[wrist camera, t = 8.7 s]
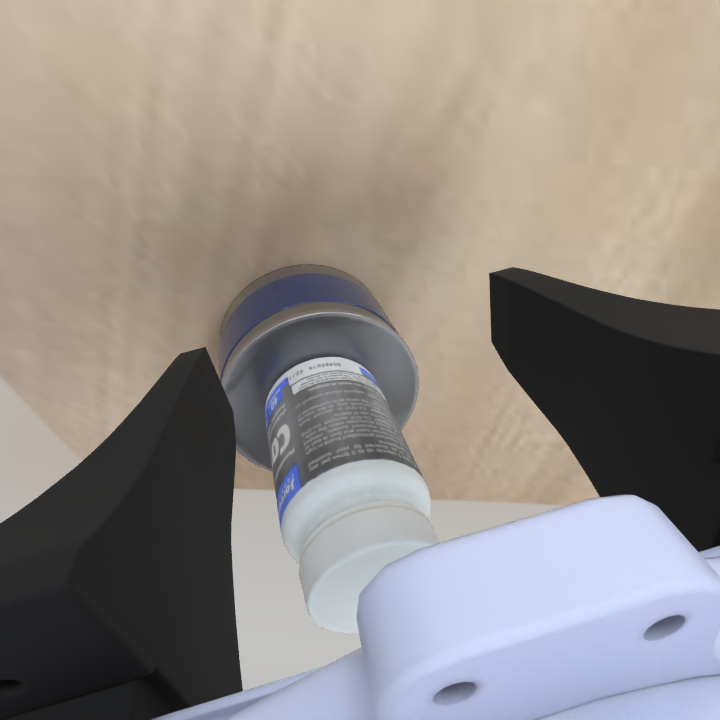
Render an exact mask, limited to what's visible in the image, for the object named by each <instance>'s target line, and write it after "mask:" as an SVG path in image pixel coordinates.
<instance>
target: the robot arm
mask: <svg viewBox="0 0 720 720" xmlns="http://www.w3.org/2000/svg"><path fill="white" fill-rule="evenodd" d="M489 278H490V309H491V340H492V343H493V345H494V347H495V349H496V350H497V352H498V354H499V356H500V358H501V359H502V361H503V362H504V364H505V366H506V367H507V369H508V371H509V372H510V373H511V374H512V376H513V377H514V378H515V380H516V381H517V382H518V383H519V385H520V386H521V387H522V388H523V389H524V391H525V392H526V393H527V394H528V396H529V397H530V398H531V399H532V400H533V402H534V403H535V404H536V405H537V407H538V408H539V409H540V410H541V411H542V413H543V414H544V415H545V416H546V418H547V419H548V420H549V421H550V422H551V424H552V425H553V426H554V427H555V428H556V430H557V431H558V432H559V434H560V435H561V436H562V438H563V439H564V440H565V442H566V443H567V445H568V446H569V448H570V449H571V451H572V452H573V454H574V455H575V457H576V459H577V460H578V462H579V463H580V465H581V466H582V468H583V469H584V471H585V473H586V474H587V476H588V477H589V479H590V481H591V482H592V484H593V486H594V487H595V489H596V491H597V492H598V494H599V496H600V497H599V498H591V499H587V500H584V501H581V502H577V503H574V504H570V505H567V506H564V507H560V508H557V509H553V510H550V511H547V512H543V513H540V514H536V515H533V516H529V517H526V518H523V519H519V520H516V521H512V522H509V523H506V524H502V525H499V526H495V527H492V528H489V529H485V530H482V531H478V532H475V533H472V534H468V535H465V536H461V537H458V538H455V539H451V540H448V541H444V542H441V543H437V544H434V545H431V546H427V547H424V548H421V549H419V550H416V551H414V552H412V553H410V554H408V555H406V556H404V557H402V558H400V559H397V560H395V561H393V562H391V563H389V564H387V565H386V566H385V567H384V568H383V569H382V570H381V571H380V572H379V573H378V574H377V575H376V576H375V577H374V578H373V579H372V580H371V582H370V583H369V584H368V585H367V586H366V587H365V588H364V589H363V590H362V592H361V593H360V594H359V601H358V608H357V616H356V620H357V625H358V630H359V635H360V640H361V645H362V647H361V648H359V649H357V650H355V651H353V652H351V653H350V654H348V655H346V656H344V657H342V658H340V659H338V660H336V661H334V662H332V663H330V664H328V665H326V666H324V667H320V668H317V669H314V670H311V671H308V672H304V673H301V674H298V675H295V676H291V677H288V678H284V679H281V680H278V681H275V682H271V683H268V684H265V685H261V686H258V687H255V688H252V689H249V690H245V691H243V689H242V680H241V672H240V661H239V650H238V640H237V628H236V616H235V603H234V588H233V573H232V572H233V571H232V553H231V552H232V551H231V519H232V503H233V489H234V475H235V458H236V435H235V424H234V413H233V409H232V407H231V405H230V402H229V400H228V398H227V395H226V393H225V391H224V389H223V386H222V384H221V382H220V379H219V377H218V375H217V373H216V370H215V368H214V366H213V363H212V361H211V359H210V356H209V354H208V352H207V350H206V347H204V348H200V349H197V350H193V351H189V352H185V353H181V354H180V355H179V356H178V357H177V358H176V359H175V360H174V361H173V362H172V364H171V365H170V366H169V367H168V368H167V370H166V371H165V372H164V373H163V375H162V376H161V377H160V378H159V380H158V381H157V382H156V383H155V385H154V386H153V387H152V388H151V390H150V391H149V392H148V393H147V394H146V396H145V397H144V398H143V399H142V401H141V402H140V403H139V404H138V405H137V406H136V407H135V408H134V410H133V411H132V412H131V413H130V414H129V415H128V416H127V417H126V418H125V420H124V421H123V422H122V423H121V424H120V425H119V426H118V427H117V428H116V429H115V431H114V432H113V433H112V434H111V435H110V436H109V437H108V438H107V439H106V440H105V441H104V442H103V443H102V444H101V445H100V446H99V447H98V448H96V449H95V450H94V451H93V452H92V453H91V454H90V455H89V456H88V457H87V458H85V459H84V460H83V461H82V462H81V463H80V464H79V465H78V466H77V467H75V468H74V469H73V470H72V471H70V472H69V473H68V474H67V475H65V476H64V477H63V478H62V479H60V480H59V481H58V482H57V483H56V484H54V485H53V486H51V487H50V488H49V489H48V490H46V491H45V492H44V493H43V494H41V495H40V496H39V497H38V498H36V499H35V500H33V501H32V502H31V503H29V504H28V505H26V506H25V507H24V508H22V509H21V510H19V511H18V512H17V513H15V514H14V515H12V516H11V517H9V518H8V519H6V520H5V521H3V522H2V523H0V720H720V310H717V309H706V308H694V307H686V306H677V305H670V304H664V303H658V302H652V301H645V300H640V299H635V298H630V297H625V296H621V295H616V294H612V293H608V292H604V291H600V290H596V289H592V288H588V287H584V286H581V285H577V284H574V283H570V282H567V281H563V280H560V279H557V278H553V277H550V276H546V275H543V274H539V273H536V272H532V271H528V270H524V269H520V268H513V267H512V268H508V269H504V270H501V271H497V272H493V273H489Z"/></svg>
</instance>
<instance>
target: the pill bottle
mask: <svg viewBox="0 0 720 720" xmlns="http://www.w3.org/2000/svg"><path fill="white" fill-rule="evenodd" d="M265 421H266V428H267V435H268V443H269V450H270V457H271V463H272V472H273V478H274V485H275V492H276V498H277V507H278V514H279V520H280V528H281V534H282V538H283V541H284V544H285V547H286V549H287V551H288V553H289V554H290V555H291V557H292V558H293V559H294V560H295V561H296V562H297V563H298V564H299V566H300V567H299V576H300V581H301V584H302V588H303V593H304V597H305V602H306V606H307V610H308V613H309V615H310V617H311V618H312V620H313V621H314V622H315V623H316V624H318V625H319V626H321V627H323V628H324V629H327V630H329V631H333V632H338V633H359V630H358V625H357V620H356V616H357V608H358V601H359V594H360V593H361V592H362V590H363V589H364V588H365V587H366V586H367V585H368V584H369V583H370V582H371V580H372V579H373V578H374V577H375V576H376V575H377V574H378V573H379V572H380V571H381V570H382V569H383V568H384V567H385V566H386V565H387V564H389V563H391V562H393V561H395V560H397V559H400V558H402V557H404V556H406V555H408V554H410V553H412V552H414V551H416V550H419V549H421V548H424V547H427V546H431V545H434V544H437V543H440V542H439V540H438V538H437V535H436V533H435V531H434V529H433V527H432V525H431V523H430V521H429V516H430V509H431V500H430V495H429V491H428V488H427V485H426V482H425V480H424V478H423V476H422V474H421V472H420V470H419V468H418V466H417V464H416V462H415V460H414V458H413V456H412V454H411V452H410V450H409V447H408V446H407V444H406V442H405V439H404V437H403V435H402V433H401V431H400V428H399V426H398V424H397V422H396V420H395V418H394V416H393V414H392V412H391V410H390V408H389V406H388V403H387V401H386V399H385V397H384V395H383V393H382V391H381V389H380V387H379V385H378V383H377V382H376V380H375V378H374V377H373V376H372V374H371V373H370V372H369V371H368V370H367V369H366V368H365V367H363V366H362V365H360V364H358V363H356V362H354V361H352V360H349V359H345V358H341V357H322V358H316V359H312V360H309V361H306V362H303V363H301V364H298V365H296V366H294V367H293V368H291V369H290V370H288V371H287V372H286V373H284V374H283V375H282V376H281V377H280V378H279V379H278V380H277V382H276V383H275V384H274V386H273V387H272V389H271V391H270V392H269V395H268V397H267V400H266V406H265Z"/></svg>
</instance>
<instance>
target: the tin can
mask: <svg viewBox="0 0 720 720" xmlns="http://www.w3.org/2000/svg"><path fill="white" fill-rule="evenodd" d="M322 357H341V358H345V359H349V360H352V361H354V362H356V363H358V364H360V365H362V366H363V367H365V368H366V369H367V370H368V371H369V372H370V373H371V374H372V376H373V377H374V378H375V380H376V382H377V383H378V385H379V387H380V389H381V391H382V393H383V395H384V397H385V399H386V401H387V403H388V406H389V408H390V410H391V412H392V414H393V416H394V418H395V420H396V422H397V424H398V426H399V428H400V431H401V430H402V429H403V428H404V426H405V425H406V423H407V421H408V420H409V418H410V416H411V414H412V411H413V409H414V406H415V403H416V400H417V395H418V389H419V377H418V370H417V366H416V363H415V359H414V357H413V355H412V353H411V351H410V349H409V348H408V346H407V345H406V343H405V342H404V341H403V339H402V338H401V337H400V336H399V334H398V333H397V331H396V329H395V328H394V326H393V325H392V323H391V322H390V320H389V319H388V317H387V315H386V314H385V312H384V311H383V309H382V308H381V306H380V305H379V304H378V302H377V301H376V300H375V299H374V297H373V296H372V294H371V293H370V292H369V290H368V289H367V288H366V287H365V286H364V285H363V284H362V283H360V282H359V281H358V280H356V279H355V278H354V277H352V276H350V275H348V274H347V273H345V272H342V271H340V270H337V269H334V268H331V267H326V266H321V265H296V266H289V267H285V268H282V269H278V270H275V271H273V272H270V273H268V274H266V275H264V276H262V277H260V278H259V279H257V280H255V281H254V282H253V283H251V284H250V285H249V286H247V287H246V288H245V289H244V290H243V291H242V292H241V293H240V294H239V295H238V296H237V298H236V299H235V300H234V301H233V303H232V304H231V306H230V308H229V309H228V311H227V313H226V315H225V318H224V320H223V323H222V328H221V332H220V345H219V379H220V382H221V384H222V386H223V389H224V391H225V393H226V395H227V398H228V400H229V402H230V405H231V407H232V409H233V413H234V424H235V435H236V450H237V451H238V452H239V453H240V454H241V455H242V456H244V457H245V458H246V459H248V460H249V461H250V462H252V463H254V464H256V465H257V466H259V467H262V468H264V469H266V470H269V471H272V463H271V457H270V450H269V443H268V435H267V428H266V421H265V406H266V400H267V397H268V395H269V392H270V391H271V389H272V387H273V386H274V384H275V383H276V382H277V380H278V379H279V378H280V377H281V376H282V375H283V374H284V373H286V372H287V371H288V370H290V369H291V368H293V367H294V366H296V365H298V364H301V363H303V362H306V361H309V360H312V359H316V358H322Z"/></svg>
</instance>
